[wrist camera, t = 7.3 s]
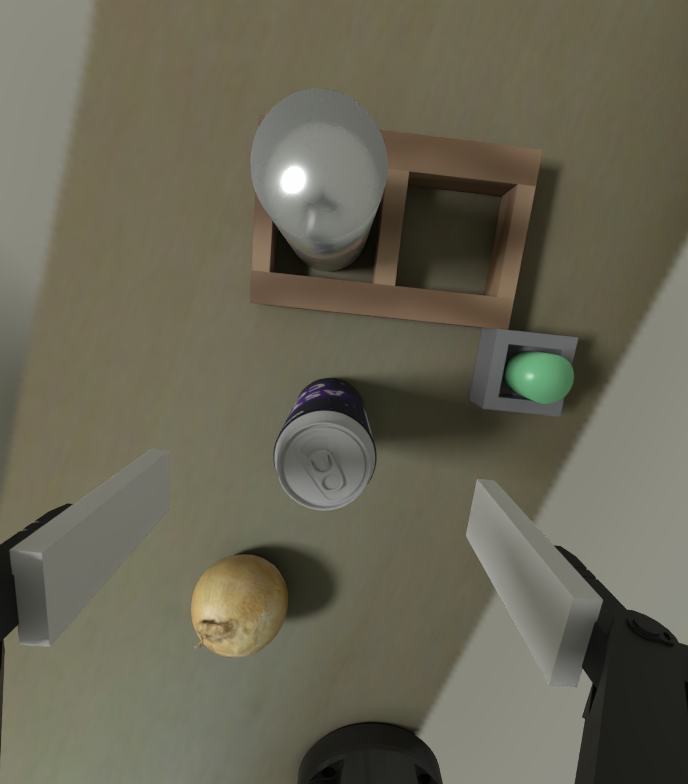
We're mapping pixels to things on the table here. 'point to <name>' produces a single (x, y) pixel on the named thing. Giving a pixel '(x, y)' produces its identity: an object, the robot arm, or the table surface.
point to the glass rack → (405, 167)
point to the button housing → (494, 358)
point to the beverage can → (326, 446)
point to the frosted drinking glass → (320, 174)
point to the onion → (239, 605)
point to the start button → (539, 376)
